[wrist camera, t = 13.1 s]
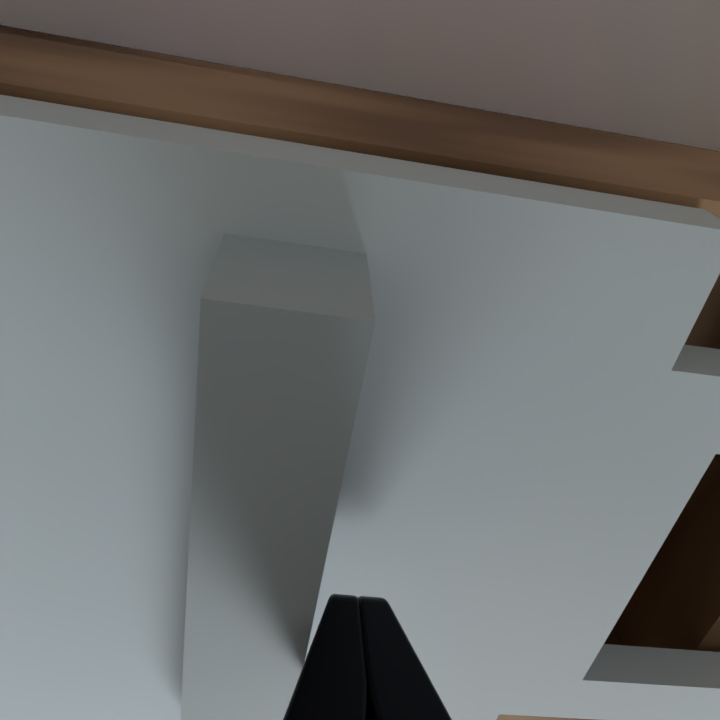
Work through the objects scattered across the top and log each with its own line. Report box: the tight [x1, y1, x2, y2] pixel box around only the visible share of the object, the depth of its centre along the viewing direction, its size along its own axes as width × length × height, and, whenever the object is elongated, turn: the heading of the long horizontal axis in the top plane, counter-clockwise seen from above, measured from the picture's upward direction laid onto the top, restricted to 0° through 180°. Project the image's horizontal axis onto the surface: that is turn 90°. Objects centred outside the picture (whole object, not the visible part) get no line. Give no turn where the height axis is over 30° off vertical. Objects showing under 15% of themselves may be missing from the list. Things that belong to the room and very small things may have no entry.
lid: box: [0, 95, 720, 720], centre depth 10 cm, size 24×12×2 cm, turn 80°
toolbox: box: [0, 25, 720, 720], centre depth 12 cm, size 16×12×4 cm
